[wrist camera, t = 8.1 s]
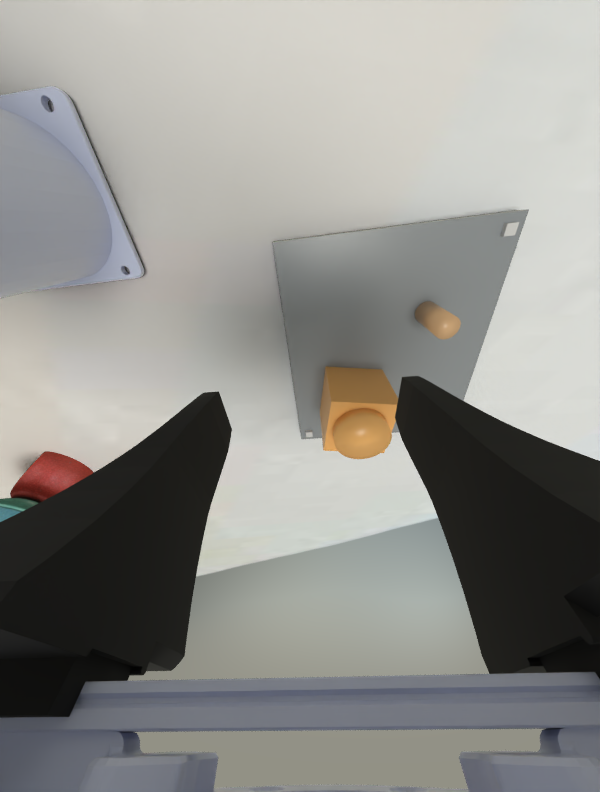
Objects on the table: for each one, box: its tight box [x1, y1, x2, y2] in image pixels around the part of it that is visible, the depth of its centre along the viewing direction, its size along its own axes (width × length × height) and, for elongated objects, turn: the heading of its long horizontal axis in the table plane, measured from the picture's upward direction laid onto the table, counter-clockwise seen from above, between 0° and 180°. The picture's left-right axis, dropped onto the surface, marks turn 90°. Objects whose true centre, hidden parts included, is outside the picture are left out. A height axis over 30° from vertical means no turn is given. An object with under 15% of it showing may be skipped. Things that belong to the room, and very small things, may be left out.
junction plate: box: [273, 210, 529, 439], centre depth 17 cm, size 14×16×4 cm
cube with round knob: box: [320, 367, 398, 459], centre depth 18 cm, size 4×4×6 cm
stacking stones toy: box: [0, 452, 93, 522], centre depth 25 cm, size 18×17×12 cm
